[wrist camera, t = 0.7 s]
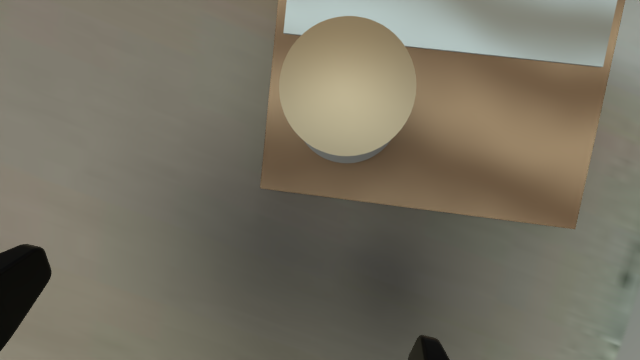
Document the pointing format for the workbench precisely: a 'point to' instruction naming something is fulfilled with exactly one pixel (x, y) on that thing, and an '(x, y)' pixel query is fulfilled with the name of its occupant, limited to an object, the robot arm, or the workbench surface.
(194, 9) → the workbench surface
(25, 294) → the robot arm
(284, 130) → the board
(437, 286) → the workbench surface
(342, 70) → the post
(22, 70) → the workbench surface
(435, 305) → the workbench surface
